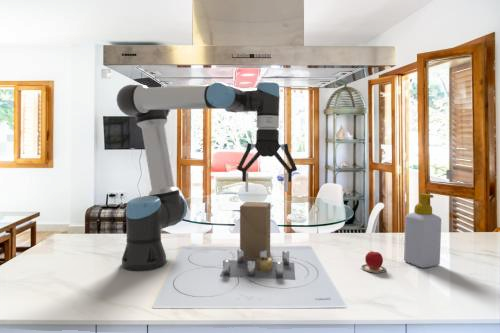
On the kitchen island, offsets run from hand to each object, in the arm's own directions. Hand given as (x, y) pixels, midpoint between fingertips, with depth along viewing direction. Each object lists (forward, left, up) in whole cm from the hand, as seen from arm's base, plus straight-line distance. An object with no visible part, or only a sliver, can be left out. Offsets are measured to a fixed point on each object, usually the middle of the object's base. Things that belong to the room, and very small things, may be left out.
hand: (266, 191), depth 121 cm
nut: (0, -3, -26) cm, 26 cm away
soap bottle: (+55, +10, -27) cm, 62 cm away
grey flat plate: (-2, -3, -26) cm, 27 cm away
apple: (+37, +2, -27) cm, 45 cm away
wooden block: (-5, +12, -27) cm, 30 cm away
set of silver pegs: (-2, -3, -26) cm, 27 cm away
